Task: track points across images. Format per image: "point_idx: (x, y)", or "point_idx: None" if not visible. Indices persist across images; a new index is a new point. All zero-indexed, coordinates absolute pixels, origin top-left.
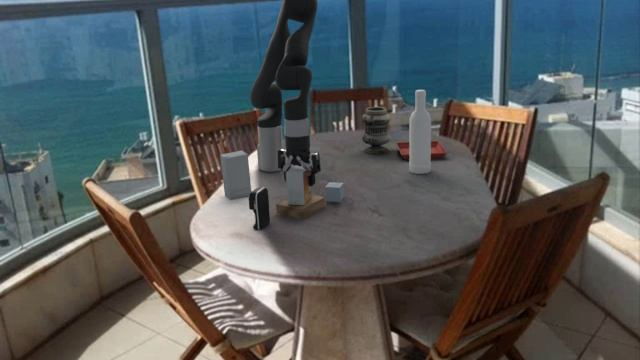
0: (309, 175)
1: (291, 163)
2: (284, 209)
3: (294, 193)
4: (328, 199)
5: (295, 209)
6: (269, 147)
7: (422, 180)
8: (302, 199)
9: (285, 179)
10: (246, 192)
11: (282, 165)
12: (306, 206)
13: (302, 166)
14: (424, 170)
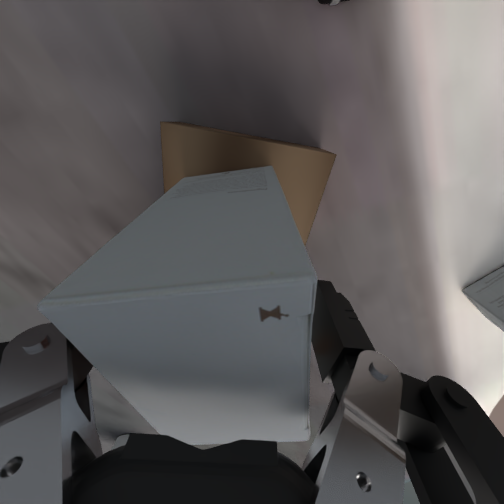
0: None
1: (302, 477)
2: (281, 143)
3: (222, 185)
4: None
5: (211, 130)
6: (469, 490)
7: (98, 419)
8: (181, 183)
9: (336, 293)
10: (491, 287)
11: (425, 423)
12: (168, 171)
13: (58, 436)
14: (116, 443)
